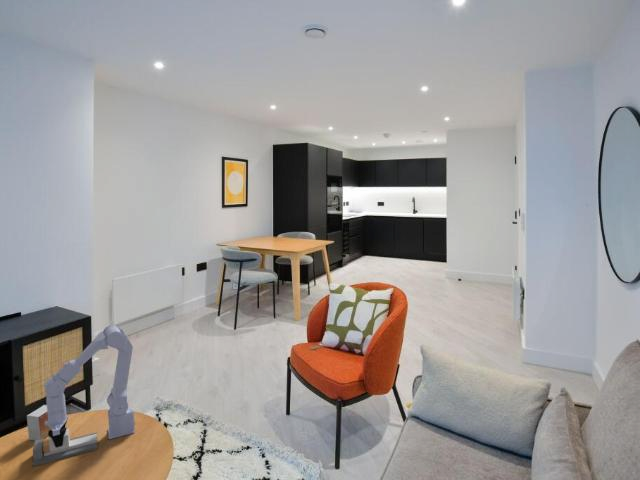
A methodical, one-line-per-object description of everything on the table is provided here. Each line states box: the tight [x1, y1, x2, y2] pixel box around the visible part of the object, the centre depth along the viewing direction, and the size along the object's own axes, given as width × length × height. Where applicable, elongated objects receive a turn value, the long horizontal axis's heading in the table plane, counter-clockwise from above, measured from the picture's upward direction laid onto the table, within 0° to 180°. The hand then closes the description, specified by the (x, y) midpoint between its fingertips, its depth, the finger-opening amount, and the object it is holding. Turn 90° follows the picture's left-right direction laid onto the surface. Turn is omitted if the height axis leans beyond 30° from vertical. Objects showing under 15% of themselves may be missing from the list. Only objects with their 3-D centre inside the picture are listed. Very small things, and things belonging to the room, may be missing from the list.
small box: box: [26, 404, 52, 442], centre depth 159 cm, size 8×6×10 cm
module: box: [48, 427, 71, 452], centre depth 149 cm, size 6×4×5 cm
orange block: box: [43, 438, 50, 453], centre depth 148 cm, size 2×4×2 cm, turn 29°
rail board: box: [32, 431, 98, 467], centre depth 151 cm, size 20×10×5 cm, turn 119°
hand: (59, 442), depth 150 cm, fingers closed on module, 4 cm apart
